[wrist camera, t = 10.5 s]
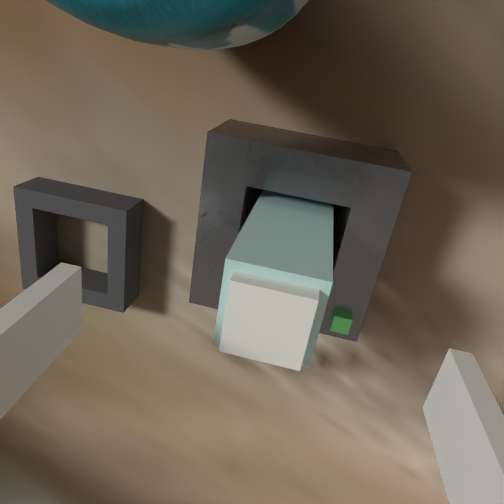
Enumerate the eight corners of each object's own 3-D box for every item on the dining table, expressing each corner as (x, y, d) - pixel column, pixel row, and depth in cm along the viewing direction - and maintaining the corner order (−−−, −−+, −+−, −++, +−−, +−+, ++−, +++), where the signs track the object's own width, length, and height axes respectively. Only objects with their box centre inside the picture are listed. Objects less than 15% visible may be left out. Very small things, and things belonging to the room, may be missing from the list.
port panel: (211, 265, 30) (185, 307, 25) (229, 119, 25) (204, 133, 20) (353, 297, 29) (357, 348, 24) (398, 151, 24) (414, 175, 19)
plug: (259, 235, 28) (207, 356, 17) (269, 177, 26) (220, 267, 15) (318, 248, 28) (308, 381, 16) (333, 190, 26) (332, 293, 15)
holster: (44, 272, 32) (22, 288, 30) (38, 176, 29) (13, 186, 27) (138, 294, 32) (123, 312, 30) (142, 199, 29) (126, 211, 26)
